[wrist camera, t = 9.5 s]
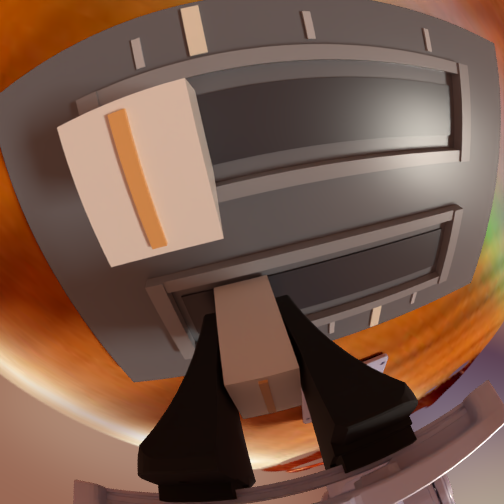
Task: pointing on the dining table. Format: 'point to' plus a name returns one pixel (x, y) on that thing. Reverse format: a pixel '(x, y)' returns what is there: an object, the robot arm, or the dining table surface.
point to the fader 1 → (145, 173)
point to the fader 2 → (255, 349)
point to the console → (275, 165)
